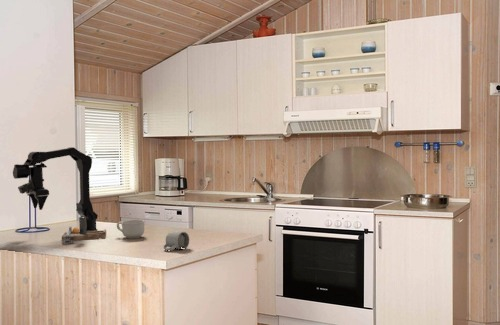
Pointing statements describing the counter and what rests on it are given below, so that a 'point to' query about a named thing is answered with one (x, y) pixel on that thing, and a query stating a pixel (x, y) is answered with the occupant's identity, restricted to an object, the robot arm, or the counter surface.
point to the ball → (75, 230)
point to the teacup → (132, 228)
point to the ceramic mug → (176, 240)
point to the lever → (81, 225)
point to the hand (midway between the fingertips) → (37, 208)
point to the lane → (88, 235)
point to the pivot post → (67, 241)
